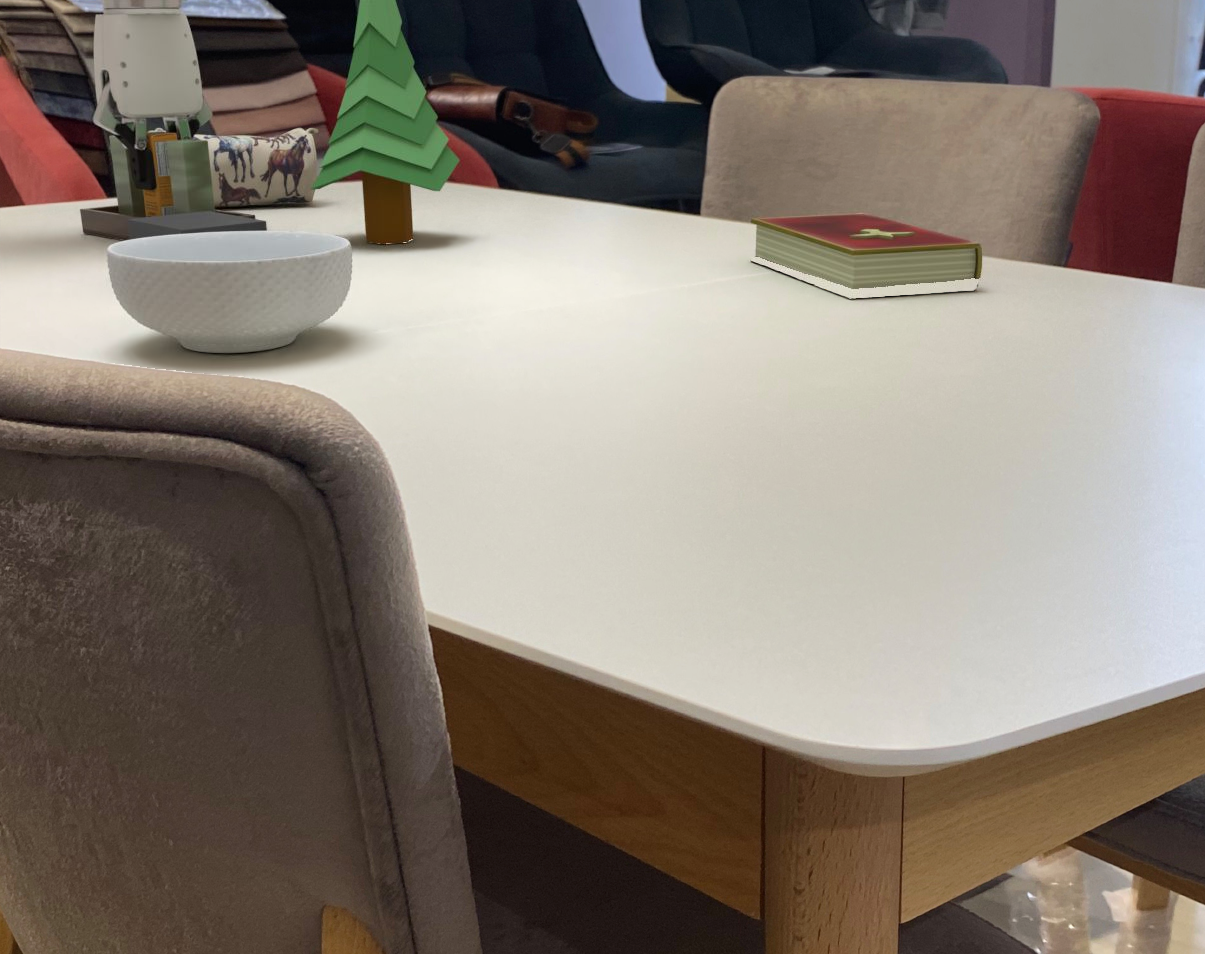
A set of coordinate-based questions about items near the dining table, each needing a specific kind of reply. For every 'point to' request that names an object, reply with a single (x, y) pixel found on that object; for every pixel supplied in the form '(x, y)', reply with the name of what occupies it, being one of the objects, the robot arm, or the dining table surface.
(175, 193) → the book rack
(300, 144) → the pencil case
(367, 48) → the decorative tree
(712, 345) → the dining table surface
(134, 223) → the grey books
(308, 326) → the cereal bowl
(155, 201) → the supplement box
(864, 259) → the hardcover book
